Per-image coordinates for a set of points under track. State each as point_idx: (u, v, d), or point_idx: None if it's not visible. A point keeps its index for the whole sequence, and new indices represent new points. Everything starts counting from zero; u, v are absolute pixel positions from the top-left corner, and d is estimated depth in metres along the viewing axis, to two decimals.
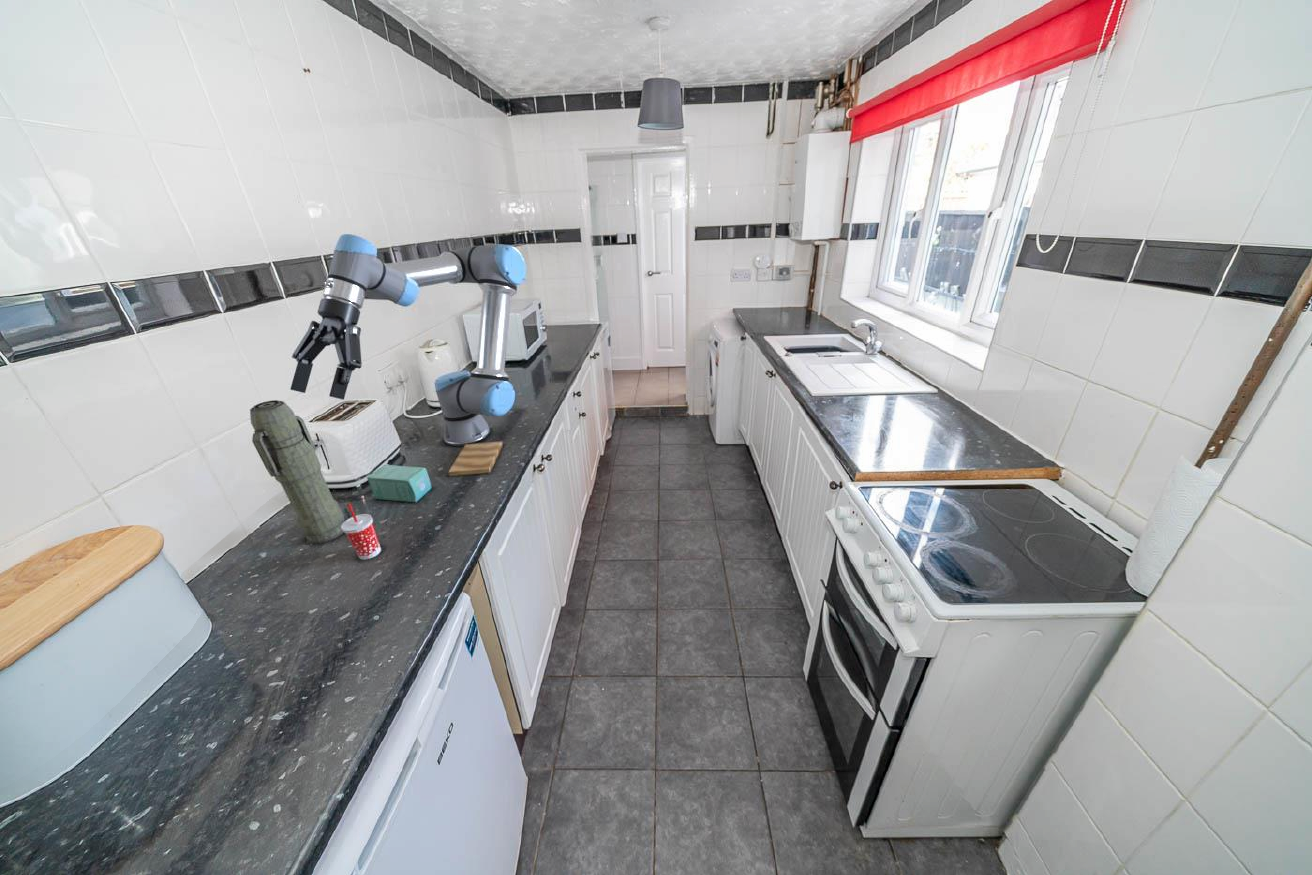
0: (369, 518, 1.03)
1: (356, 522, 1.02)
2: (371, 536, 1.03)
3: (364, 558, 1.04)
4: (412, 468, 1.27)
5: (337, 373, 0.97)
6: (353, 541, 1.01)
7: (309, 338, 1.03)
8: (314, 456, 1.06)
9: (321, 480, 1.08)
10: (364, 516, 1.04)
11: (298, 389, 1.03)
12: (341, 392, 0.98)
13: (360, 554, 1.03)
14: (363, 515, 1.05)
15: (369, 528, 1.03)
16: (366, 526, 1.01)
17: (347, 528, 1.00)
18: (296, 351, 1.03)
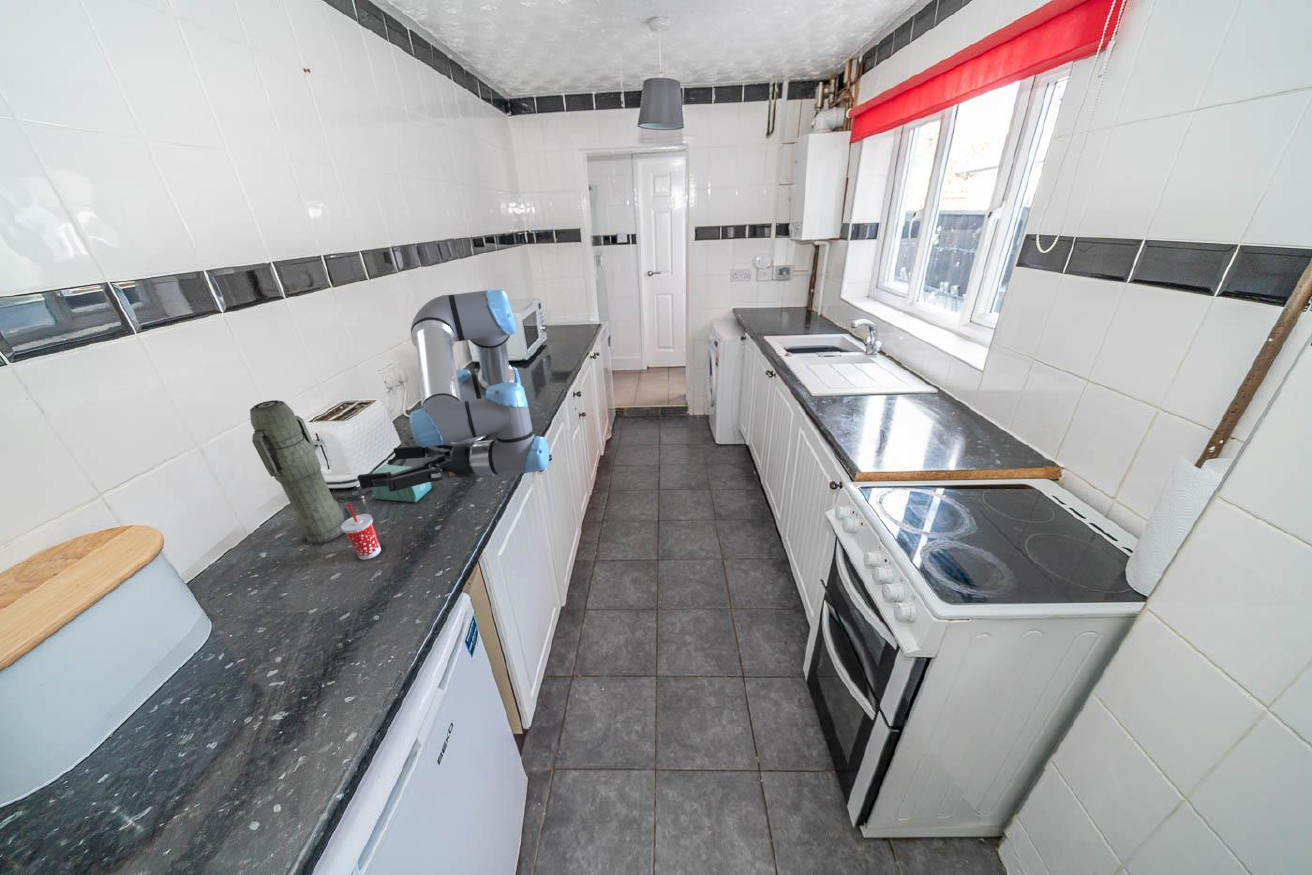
0: (369, 518, 1.03)
1: (356, 522, 1.02)
2: (371, 536, 1.03)
3: (364, 558, 1.04)
4: None
5: None
6: (353, 541, 1.01)
7: None
8: (314, 456, 1.06)
9: (321, 480, 1.08)
10: (364, 516, 1.04)
11: None
12: None
13: (360, 554, 1.03)
14: (363, 515, 1.05)
15: (369, 528, 1.03)
16: (366, 526, 1.01)
17: (347, 528, 1.00)
18: None
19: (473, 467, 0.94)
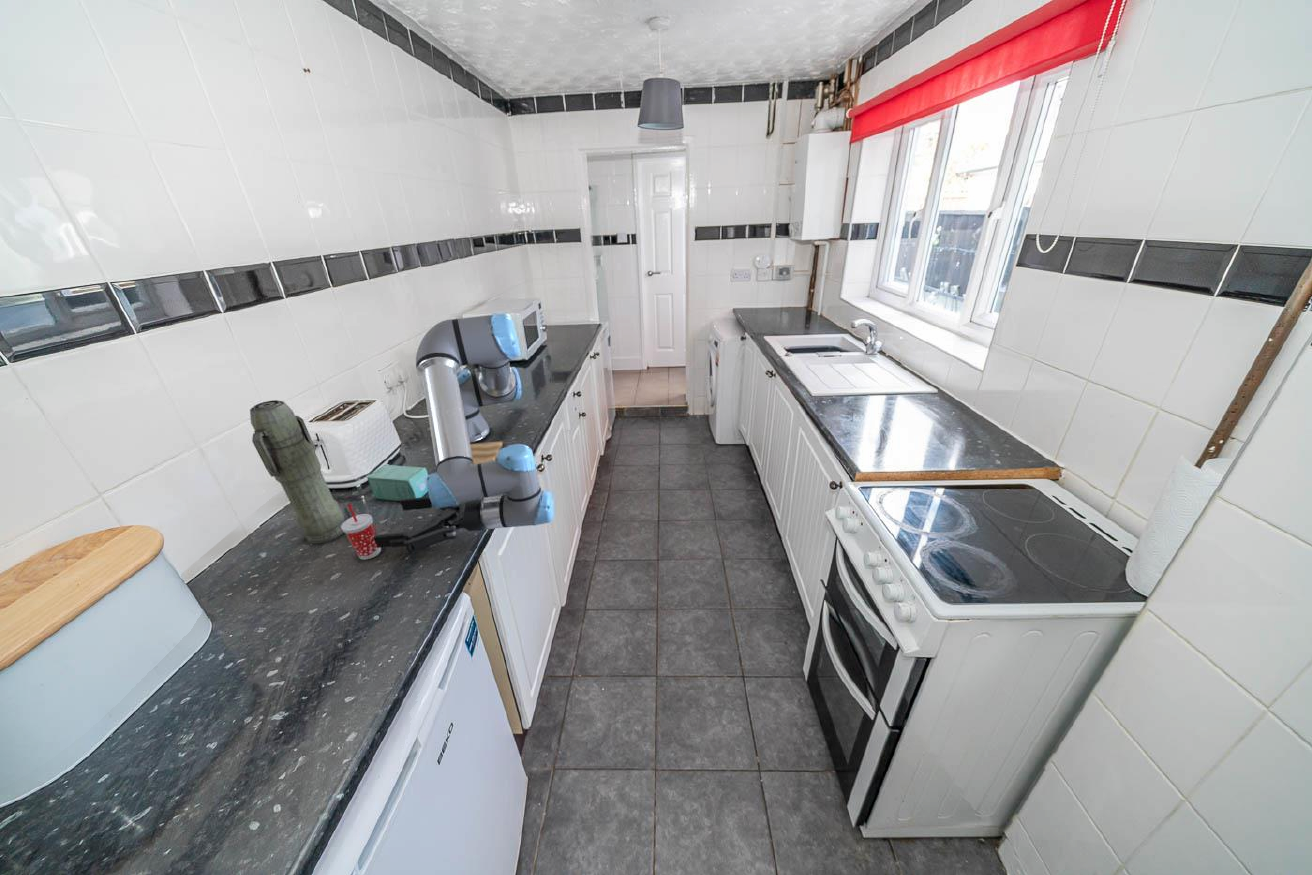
0: (369, 518, 1.03)
1: (356, 522, 1.02)
2: (371, 536, 1.03)
3: (364, 558, 1.04)
4: (412, 468, 1.27)
5: None
6: (353, 541, 1.01)
7: None
8: (314, 456, 1.06)
9: (321, 480, 1.08)
10: (364, 516, 1.04)
11: None
12: None
13: (360, 554, 1.03)
14: (363, 515, 1.05)
15: (369, 528, 1.03)
16: (366, 526, 1.01)
17: (347, 528, 1.00)
18: None
19: (485, 523, 1.01)
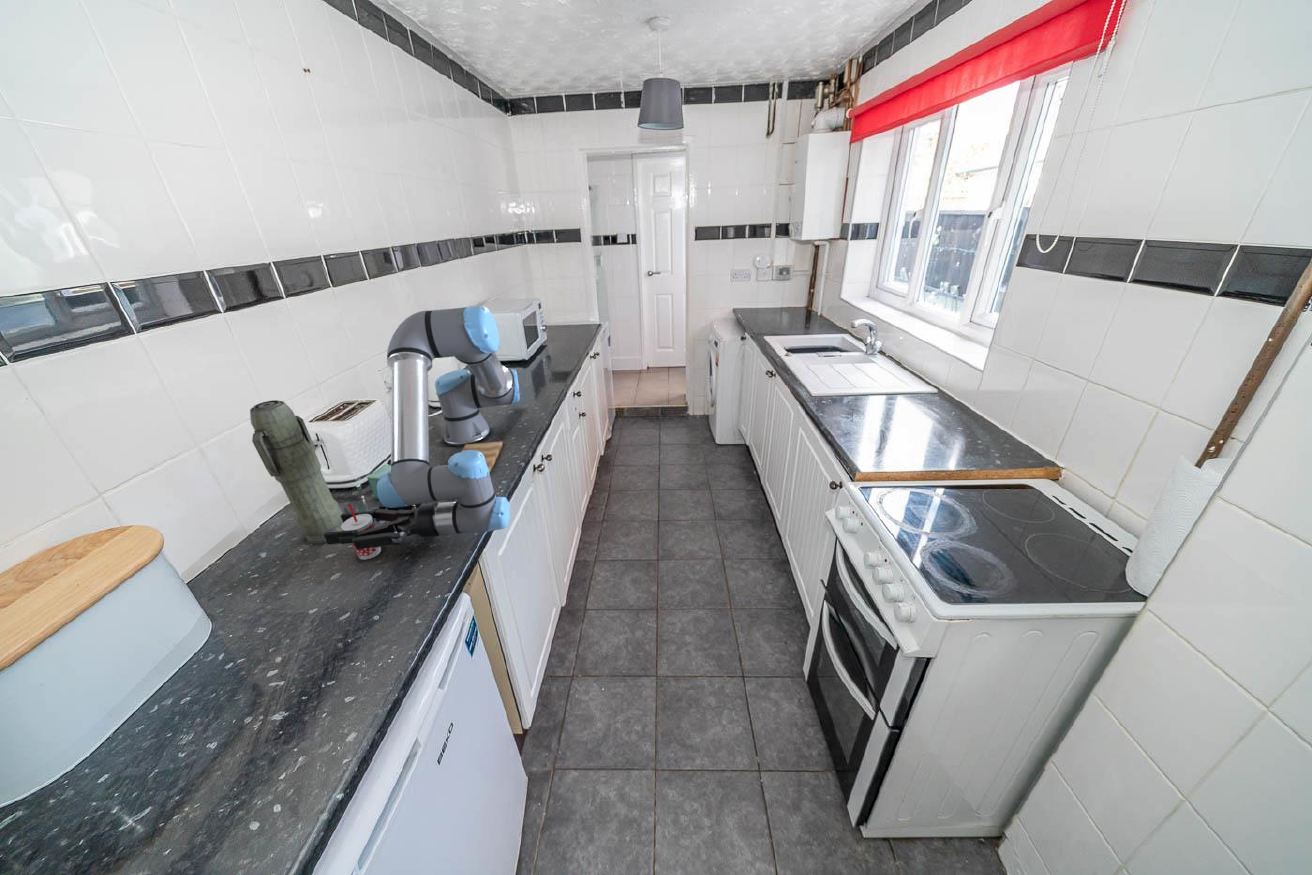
0: (369, 518, 1.03)
1: (356, 522, 1.02)
2: None
3: (364, 558, 1.04)
4: None
5: None
6: None
7: None
8: (314, 456, 1.06)
9: (321, 480, 1.08)
10: (364, 516, 1.04)
11: None
12: None
13: (360, 554, 1.03)
14: (363, 515, 1.05)
15: (369, 528, 1.03)
16: (366, 526, 1.01)
17: (347, 528, 1.00)
18: None
19: (438, 529, 1.01)
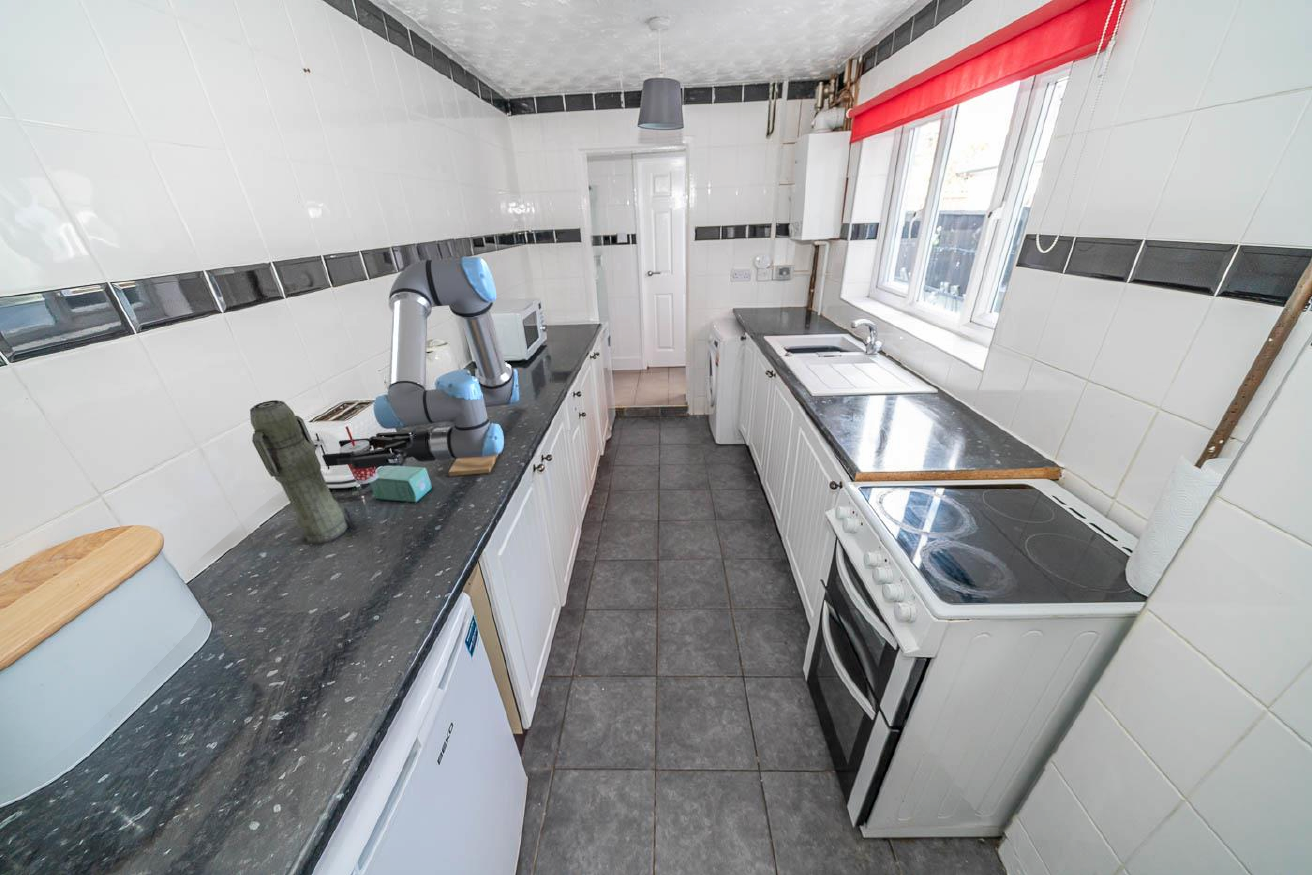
0: (366, 443, 1.06)
1: (354, 446, 1.05)
2: None
3: (362, 483, 1.07)
4: (412, 468, 1.27)
5: None
6: (350, 464, 1.04)
7: None
8: (314, 456, 1.06)
9: (321, 480, 1.08)
10: (362, 442, 1.07)
11: None
12: None
13: (358, 478, 1.06)
14: (361, 441, 1.07)
15: None
16: (364, 450, 1.04)
17: (345, 451, 1.03)
18: None
19: (433, 452, 1.04)
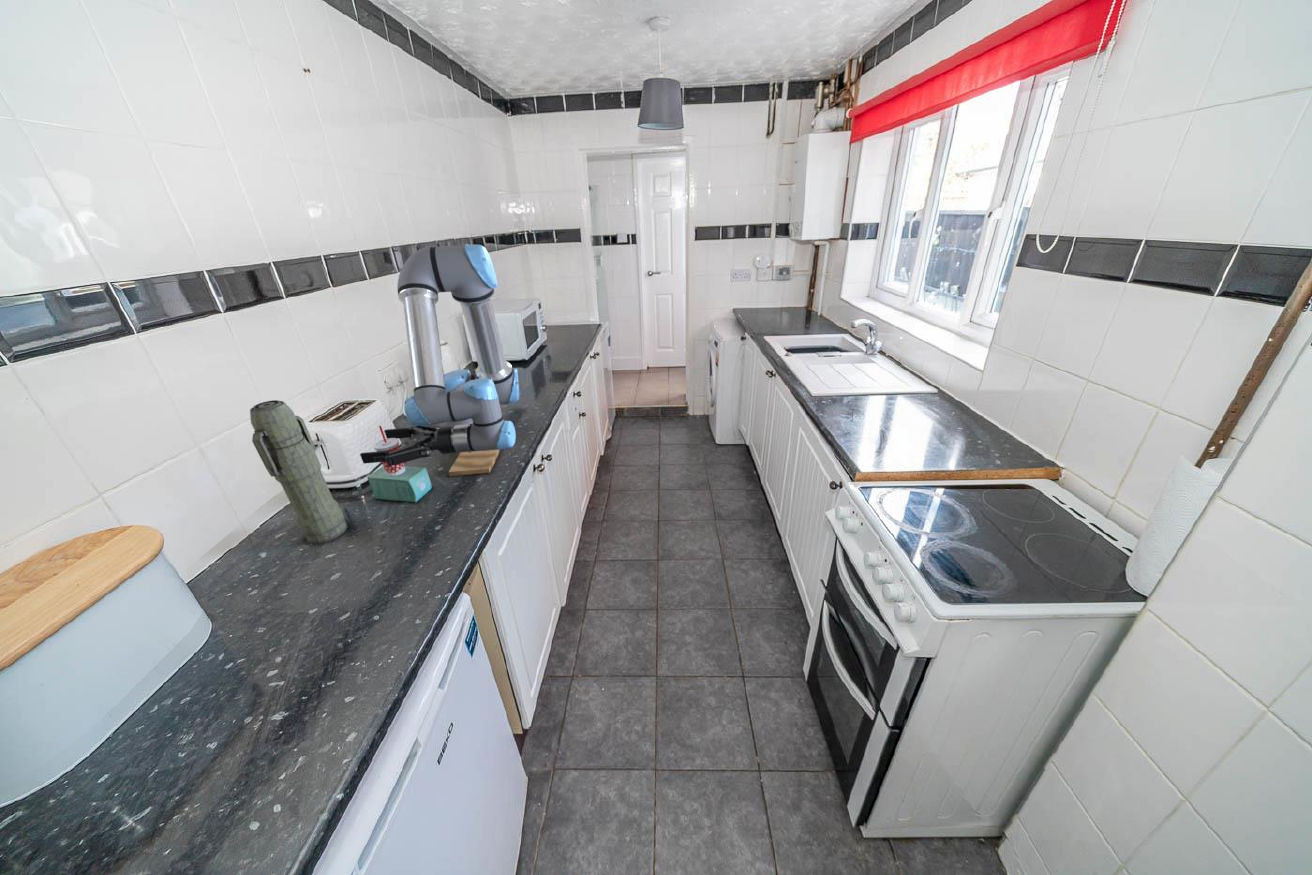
0: (396, 440, 1.22)
1: (386, 443, 1.20)
2: None
3: (392, 475, 1.23)
4: (412, 468, 1.27)
5: None
6: None
7: None
8: (314, 456, 1.06)
9: (321, 480, 1.08)
10: (392, 439, 1.23)
11: None
12: None
13: (388, 471, 1.22)
14: (391, 439, 1.23)
15: (397, 448, 1.21)
16: (394, 446, 1.20)
17: (378, 447, 1.19)
18: None
19: (455, 446, 1.19)
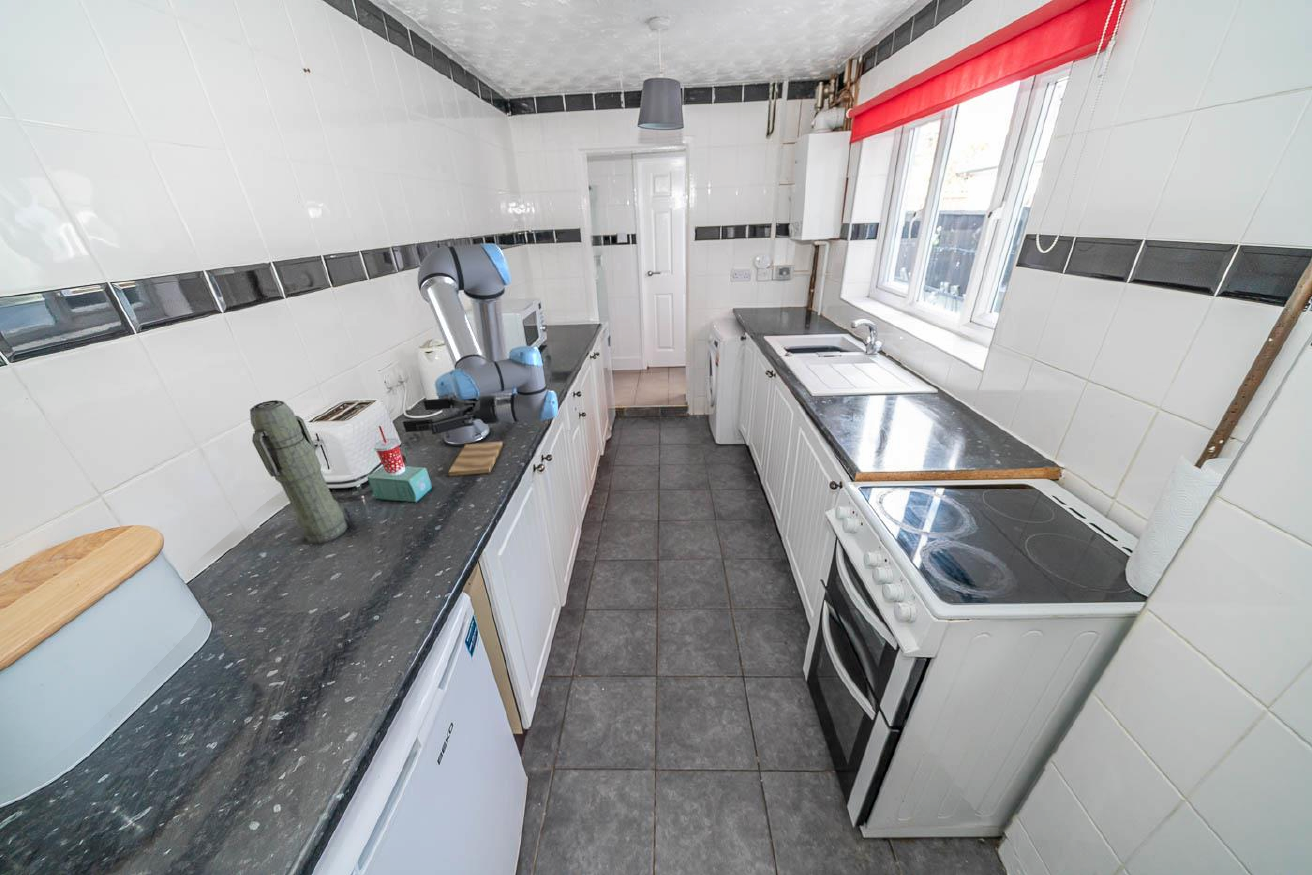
0: (396, 440, 1.22)
1: (385, 443, 1.20)
2: (398, 456, 1.22)
3: (392, 475, 1.23)
4: (412, 468, 1.27)
5: None
6: (382, 458, 1.20)
7: None
8: (314, 456, 1.06)
9: (321, 480, 1.08)
10: (391, 439, 1.23)
11: None
12: None
13: (388, 471, 1.22)
14: (391, 439, 1.23)
15: (396, 448, 1.21)
16: (394, 446, 1.20)
17: (378, 447, 1.19)
18: None
19: (498, 415, 1.16)
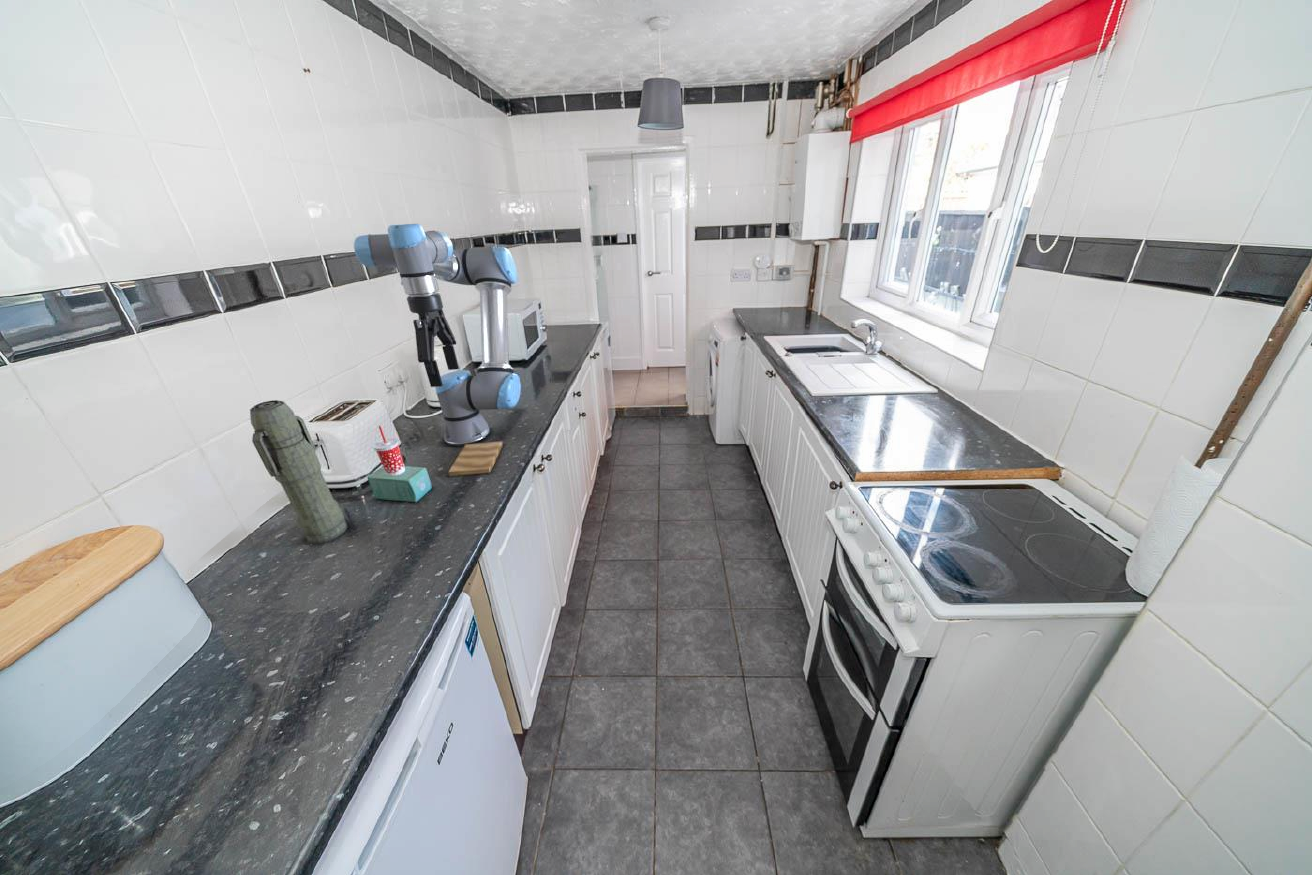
0: (396, 440, 1.22)
1: (385, 443, 1.20)
2: (398, 456, 1.22)
3: (391, 475, 1.23)
4: (412, 468, 1.27)
5: (425, 367, 1.11)
6: (382, 459, 1.20)
7: None
8: (314, 456, 1.06)
9: (321, 480, 1.08)
10: (391, 439, 1.23)
11: (452, 368, 1.25)
12: (436, 381, 1.13)
13: (388, 471, 1.22)
14: (390, 439, 1.23)
15: (396, 448, 1.21)
16: (394, 446, 1.20)
17: (378, 447, 1.19)
18: None
19: None
